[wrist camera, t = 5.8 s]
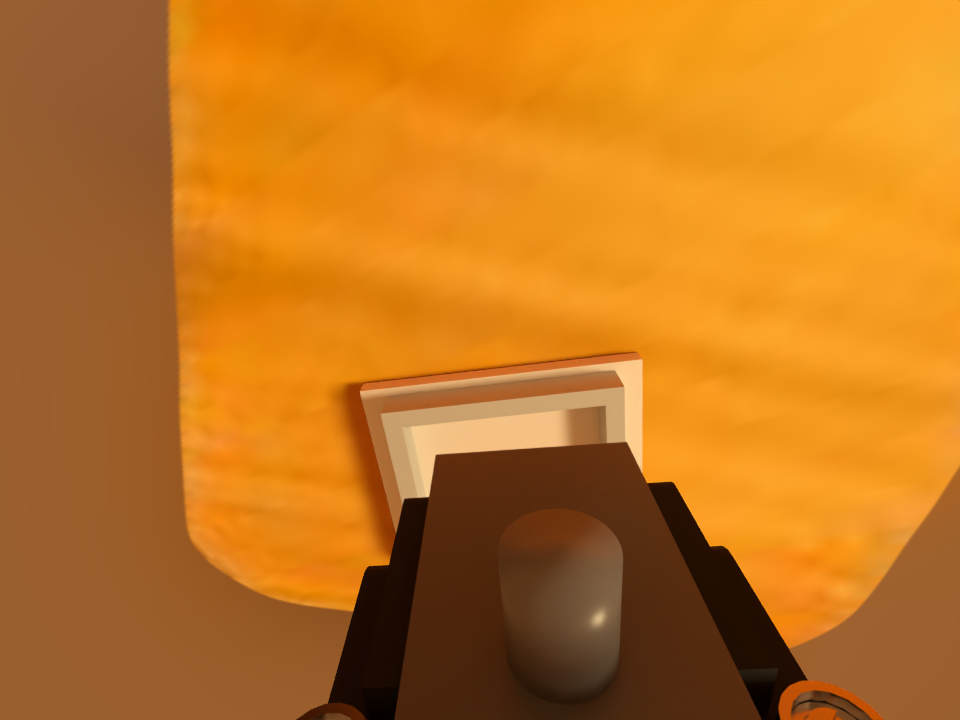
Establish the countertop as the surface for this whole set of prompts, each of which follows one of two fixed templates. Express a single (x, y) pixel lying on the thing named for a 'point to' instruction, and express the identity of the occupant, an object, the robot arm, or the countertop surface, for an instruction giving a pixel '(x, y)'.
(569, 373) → the tray
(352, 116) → the countertop surface
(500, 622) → the connector plug
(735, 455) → the countertop surface
